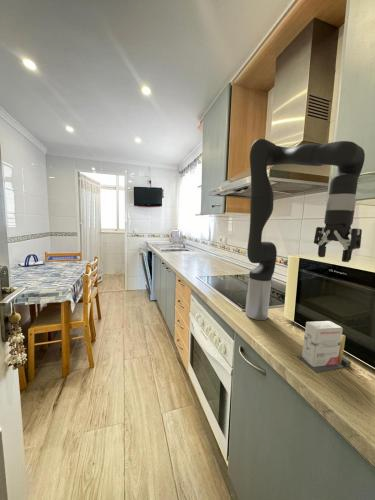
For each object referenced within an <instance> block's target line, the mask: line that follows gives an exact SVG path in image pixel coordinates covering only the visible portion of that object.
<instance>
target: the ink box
mask: <svg viewBox="0 0 375 500" xmlns="http://www.w3.org/2000/svg"><path fill="white" fill-rule="evenodd" d="M343 330H344V328H343V327H342V326H340V325H339V324H336V323H334V322H333V321H331V320H324V321H323V320H322V321H321V320H320V321H319V320H317V321H306V322H305V330H304V337H303V345H302V352H301V355H302V357H303V358H304V359H305V360H306V361H307V362H308V363H309V364H310V365H311V366H313V367H316V366H326V365H336V364H337V361H338V355H339V349H340V343H341V337H342V335H343Z"/></svg>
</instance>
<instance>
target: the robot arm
mask: <svg viewBox="0 0 375 500" xmlns="http://www.w3.org/2000/svg"><path fill="white" fill-rule="evenodd" d="M365 159H366V154H365V150H364V148H362V147H361V146H360V145H359V144H357V143H356V142H353V141H349V140H348V141H347V140H340V141H332V142H327V143H305V144H304V143H303V144H300V145H296V146H293V147H292V146H291V147H285V146H280V145H278V144H277V145H276V144H275V143H274V142H272V141H270V140H268V139H265V138H258V139H256V140H255V141H253V143H252V145H251V147H250V150H249V165H250V166H249V167H250V207H249V209H250V210H249V211H250V214H249V215H250V217H249V232H248V239H247V249H246V250H247V255H246V256H247V258H248V260H249V262H250V263H252V264H258V265H257V266H256V267H255V268H252V269H251V270H250V271H249V274H248V286H247V287H248V288H247V292H246V299H245V310H244V312H245V315H246V317H248V318H250V319H253V320H257V321H265V320H267V319H268V318H269V317H268V315H269V308H270V307H269V306H270V296H271V285H272V279H273V276H274V274H275V273H274V272H275V270H276V269H275V268H276V262H277V257H278V256H277V254H278V253H277V252H278V251H277V246H276V245H275V243H273V242H271V241H262V236H263V230H264V228H265V226H266V224H267V222H268V221H269V219H270V217H271V216H272V214H273V211H274V190H273V188H272V184H271V182H270V179H269V176H268V170H267V169H268V167H271V166H276V165H297V166H298V165H299V166H308V167H309V166H310V167H321V166H335V167H337V171H336V175H335V176H333V178H332V179H331V181H330V183H329V192H328V197H327V200H326V201H327V202H326V207H325V215H324V219H323V223H324V225H325V226H324V227H323V226H317V227H316V229H315V234H314V240H313V244H316V245H317V246H318V250H317V255H318V257H319V258H325V257H326V251H327V245H328V244H329V243H330V242H339V243H340V244H341V246H342V247H343V250H342V256H341V262H343V263H349V262H350V261H351V260H352V256H353V255H352V254H353V250H356V249H361V246H362V245H361V244H362V243H361V242H362V233H363V230H362V229H361V228H352V227H351V226H352V225H353V224H354V223H353V222H354V217H355V216H354V214H355V208H356V203H357V201H356V200H357V199H356V197H357V189H358V179H359V177H360V176H361V173H362V170H363V167H364V165H365V164H364V163H365ZM349 235H350V236H349Z"/></svg>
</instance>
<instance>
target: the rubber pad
mask: <svg viewBox="0 0 375 500" xmlns="http://www.w3.org/2000/svg"><path fill="white" fill-rule="evenodd" d="M297 358H299V360H301V361H302V362H303V363H304V364H305V365H306V366H308V367H309V368H310V369H311V370H313V371H314V372H316V373H322V372H326V371H327V372H328V371H332V370H333V371H334V370H338V369H344V366H343V365H342V364H341V365H340V364H339V363H337V364H336V365H326V366H316V367H313V366H311V365H310V364H309V363H308V362H307V361H306V360H305V359H304V358H303V357H302V354H301V355H297Z"/></svg>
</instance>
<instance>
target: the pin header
mask: <svg viewBox="0 0 375 500" xmlns="http://www.w3.org/2000/svg"><path fill="white" fill-rule="evenodd" d="M345 343H346V335H345V334H342V337H341V343H340V349H339V355H338V361H337V363H339V364H340V365H342V366H343V367H345V368H350V367H351V364H352V362H351V361H350V360H349V359H347V358H346V357H345V356H344V349H345V345H346V344H345Z"/></svg>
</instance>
